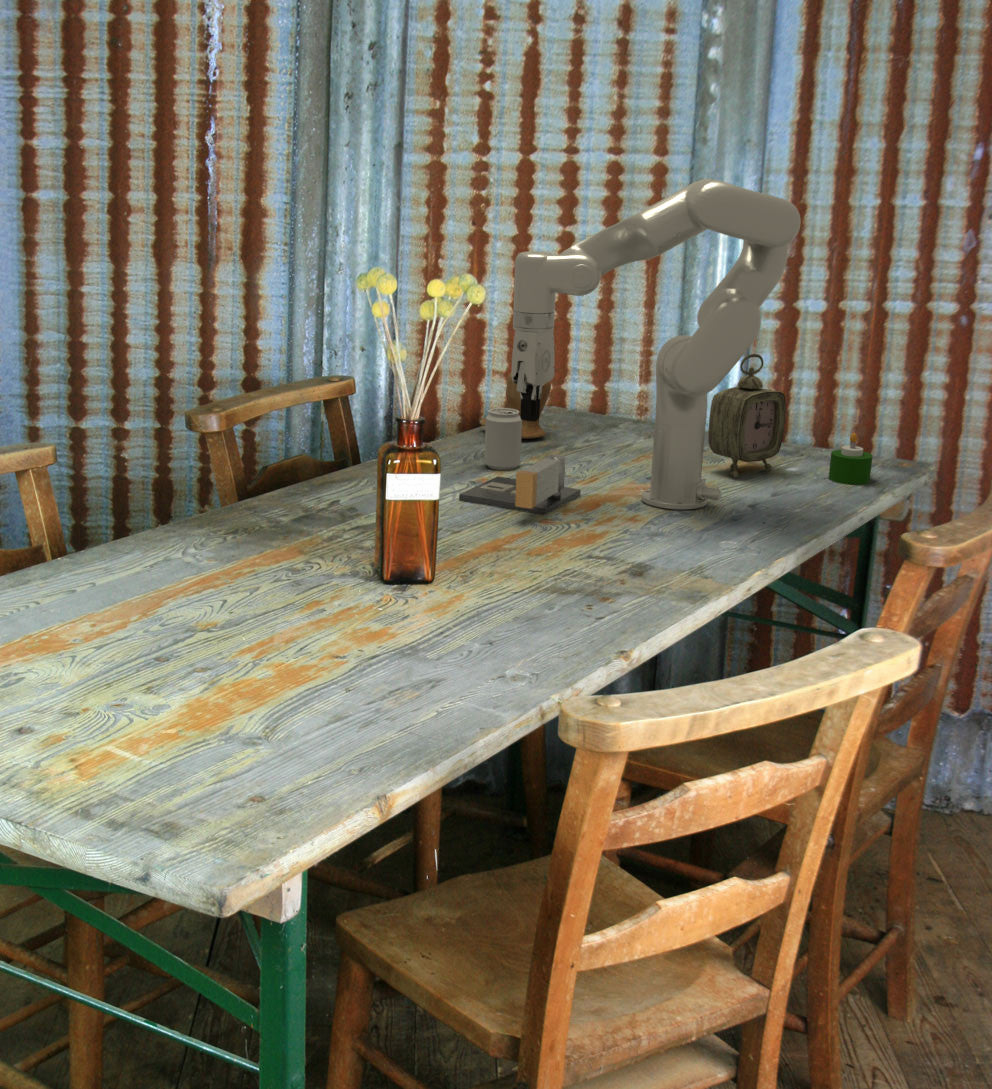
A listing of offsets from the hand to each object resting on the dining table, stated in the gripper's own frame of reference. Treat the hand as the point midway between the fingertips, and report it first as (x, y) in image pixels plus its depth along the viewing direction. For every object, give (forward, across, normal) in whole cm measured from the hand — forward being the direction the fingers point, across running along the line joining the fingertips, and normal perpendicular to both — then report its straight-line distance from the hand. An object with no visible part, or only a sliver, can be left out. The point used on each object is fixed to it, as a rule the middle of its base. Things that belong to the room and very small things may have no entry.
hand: (529, 419), depth 248 cm
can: (+16, +22, +15) cm, 31 cm away
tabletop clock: (+16, +44, -30) cm, 55 cm away
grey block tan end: (+13, -6, -5) cm, 15 cm away
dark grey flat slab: (+16, +1, +2) cm, 16 cm away
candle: (+16, +50, -51) cm, 73 cm away
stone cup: (+16, +51, +24) cm, 59 cm away
